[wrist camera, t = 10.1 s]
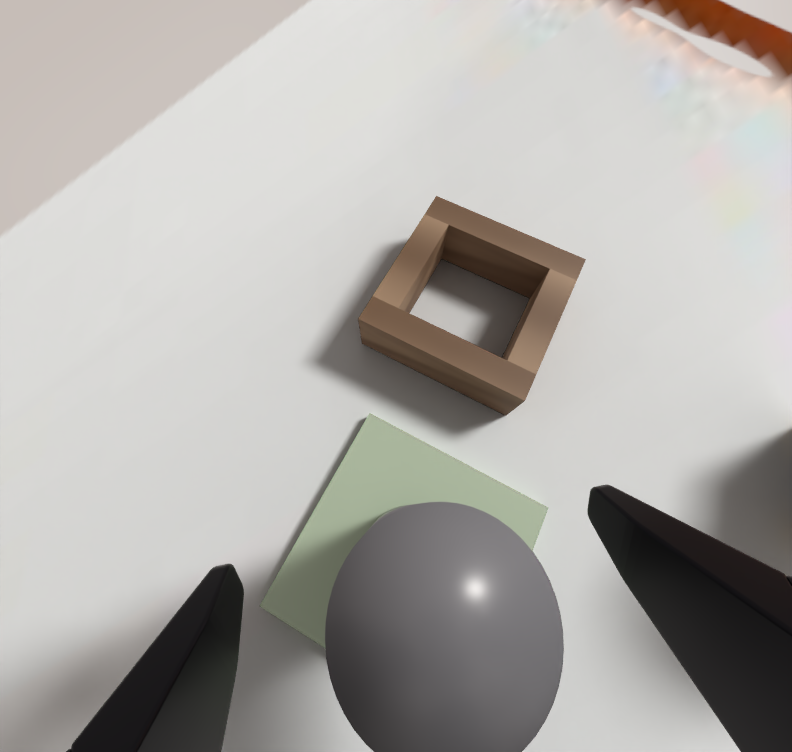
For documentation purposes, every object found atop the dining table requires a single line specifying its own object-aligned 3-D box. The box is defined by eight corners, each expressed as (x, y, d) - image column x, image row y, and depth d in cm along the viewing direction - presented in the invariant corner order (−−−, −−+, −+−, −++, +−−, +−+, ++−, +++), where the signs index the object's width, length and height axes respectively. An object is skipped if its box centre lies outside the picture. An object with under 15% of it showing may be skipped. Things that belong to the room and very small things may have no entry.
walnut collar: (505, 415, 20) (524, 400, 18) (361, 343, 22) (358, 318, 19) (561, 289, 23) (585, 259, 20) (430, 232, 24) (436, 195, 22)
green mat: (460, 728, 16) (463, 737, 15) (263, 602, 17) (259, 606, 17) (543, 507, 19) (548, 507, 18) (370, 415, 20) (369, 412, 20)
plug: (445, 626, 17) (541, 825, 6) (349, 592, 17) (287, 727, 7) (468, 521, 18) (578, 540, 8) (379, 492, 18) (369, 473, 8)
